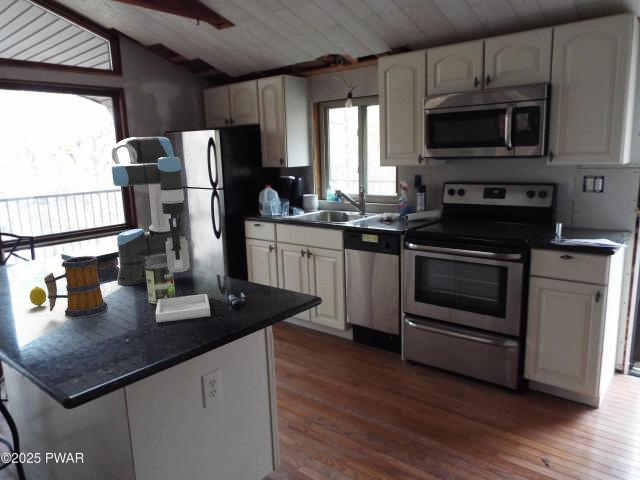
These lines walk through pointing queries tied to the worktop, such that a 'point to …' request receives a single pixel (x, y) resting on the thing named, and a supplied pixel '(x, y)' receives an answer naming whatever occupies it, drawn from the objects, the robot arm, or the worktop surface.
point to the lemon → (37, 296)
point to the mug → (78, 288)
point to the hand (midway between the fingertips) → (178, 265)
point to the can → (183, 251)
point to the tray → (182, 308)
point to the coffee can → (159, 282)
